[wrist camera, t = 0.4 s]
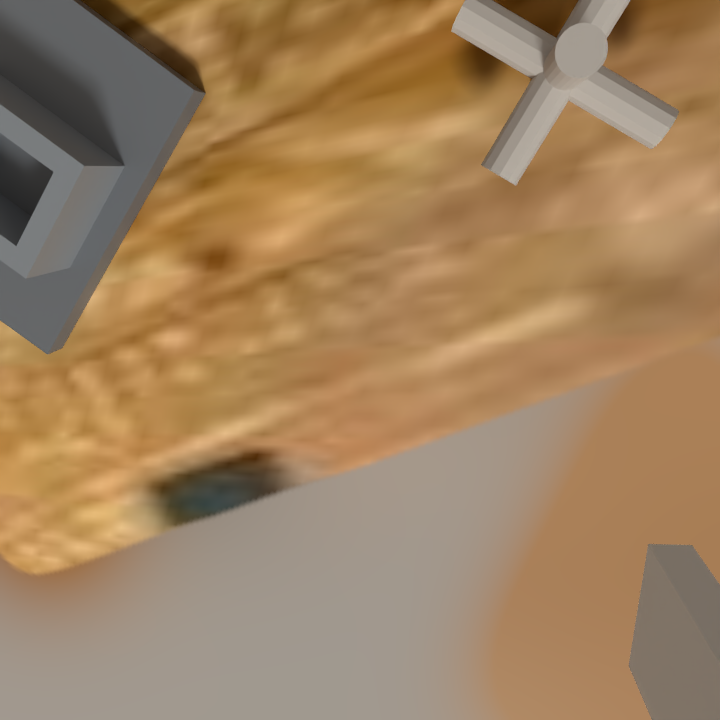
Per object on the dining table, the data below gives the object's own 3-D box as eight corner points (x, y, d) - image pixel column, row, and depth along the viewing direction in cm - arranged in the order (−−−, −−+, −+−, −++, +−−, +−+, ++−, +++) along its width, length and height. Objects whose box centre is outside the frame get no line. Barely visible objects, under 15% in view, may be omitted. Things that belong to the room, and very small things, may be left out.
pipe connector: (413, 125, 35) (390, 110, 25) (520, -70, 32) (539, -171, 22) (578, 223, 35) (617, 244, 25) (701, 37, 32) (798, -18, 22)
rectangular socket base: (23, -43, 36) (-54, -78, 31) (205, 93, 36) (160, 80, 31) (-97, 233, 41) (-179, 242, 36) (62, 348, 42) (3, 373, 37)
